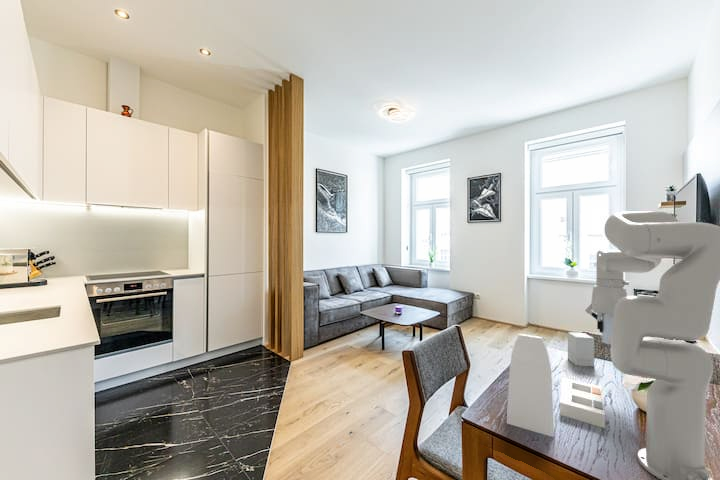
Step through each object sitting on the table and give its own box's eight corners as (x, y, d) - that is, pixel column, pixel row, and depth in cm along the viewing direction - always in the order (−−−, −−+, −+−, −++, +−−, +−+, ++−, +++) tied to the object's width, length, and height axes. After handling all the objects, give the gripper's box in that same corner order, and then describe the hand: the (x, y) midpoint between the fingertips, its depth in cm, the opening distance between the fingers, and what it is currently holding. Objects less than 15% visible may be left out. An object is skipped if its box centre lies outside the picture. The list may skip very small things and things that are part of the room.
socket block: (605, 428, 86) (605, 413, 86) (559, 414, 92) (560, 401, 92) (600, 398, 102) (600, 385, 102) (562, 388, 108) (562, 376, 108)
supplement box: (594, 367, 125) (595, 338, 125) (575, 365, 127) (575, 337, 127) (585, 360, 132) (585, 332, 132) (567, 358, 134) (567, 331, 134)
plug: (619, 344, 105) (619, 311, 105) (607, 344, 105) (608, 311, 105) (609, 340, 109) (610, 308, 109) (599, 340, 109) (599, 308, 109)
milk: (551, 415, 92) (552, 333, 92) (553, 437, 82) (554, 345, 82) (509, 404, 98) (509, 327, 98) (506, 423, 88) (507, 338, 88)
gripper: (639, 284, 105) (638, 334, 105) (580, 280, 115) (580, 326, 115) (642, 287, 99) (642, 340, 99) (581, 282, 109) (580, 331, 109)
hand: (608, 332), depth 107 cm, fingers closed on plug, 4 cm apart
